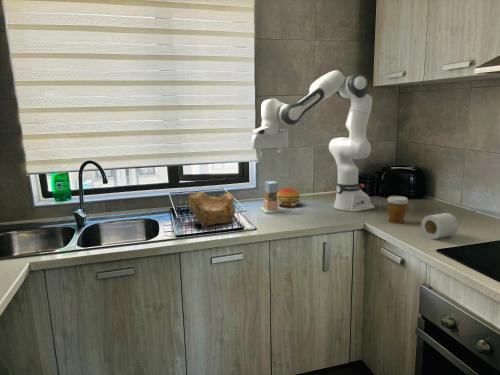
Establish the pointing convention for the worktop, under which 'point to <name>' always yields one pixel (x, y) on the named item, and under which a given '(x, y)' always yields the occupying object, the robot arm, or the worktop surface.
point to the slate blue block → (271, 186)
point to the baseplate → (270, 210)
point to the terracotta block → (270, 205)
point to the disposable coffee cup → (397, 208)
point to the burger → (288, 197)
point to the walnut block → (270, 196)
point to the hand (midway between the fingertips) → (270, 156)
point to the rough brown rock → (211, 208)
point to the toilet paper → (439, 225)
